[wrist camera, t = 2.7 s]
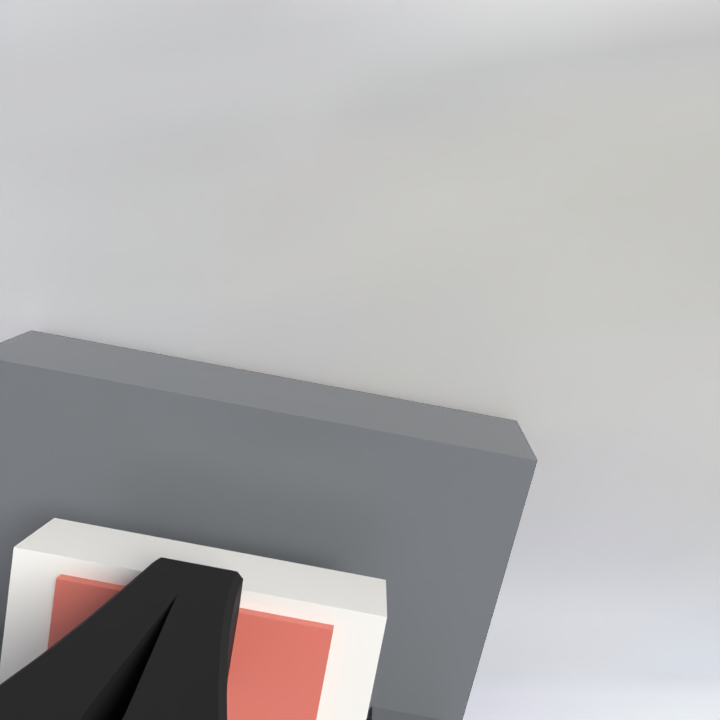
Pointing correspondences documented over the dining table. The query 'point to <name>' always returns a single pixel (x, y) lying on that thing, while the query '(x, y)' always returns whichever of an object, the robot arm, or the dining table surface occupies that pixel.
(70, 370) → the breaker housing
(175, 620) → the robot arm
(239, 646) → the block
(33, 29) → the dining table surface
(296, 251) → the dining table surface
